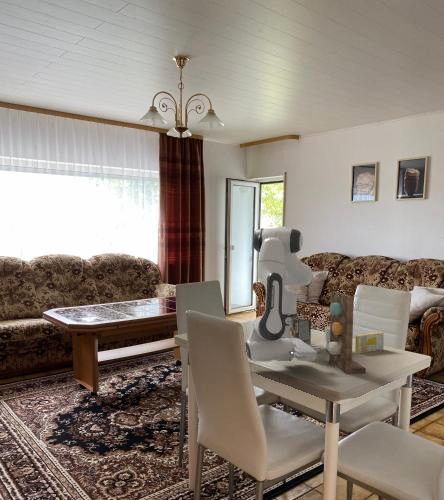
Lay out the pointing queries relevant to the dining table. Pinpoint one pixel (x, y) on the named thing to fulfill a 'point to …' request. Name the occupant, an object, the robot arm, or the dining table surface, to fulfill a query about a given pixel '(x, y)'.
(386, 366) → the dining table surface
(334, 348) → the cream button
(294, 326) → the coffee box
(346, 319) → the button panel
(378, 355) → the dining table surface
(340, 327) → the orange button
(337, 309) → the teal button
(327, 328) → the white cup
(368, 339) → the candy box
